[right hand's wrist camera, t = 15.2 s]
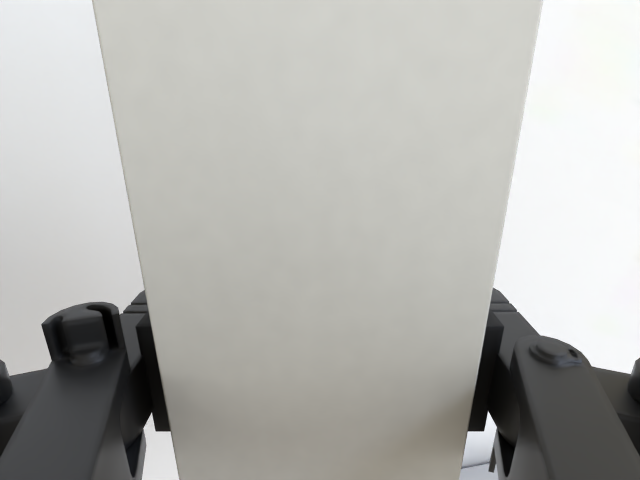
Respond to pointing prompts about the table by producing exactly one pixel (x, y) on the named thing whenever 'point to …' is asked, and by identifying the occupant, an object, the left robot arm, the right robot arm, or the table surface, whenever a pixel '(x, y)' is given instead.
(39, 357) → the table surface
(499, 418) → the right robot arm
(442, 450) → the bar
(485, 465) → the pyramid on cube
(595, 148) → the table surface
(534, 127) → the table surface
